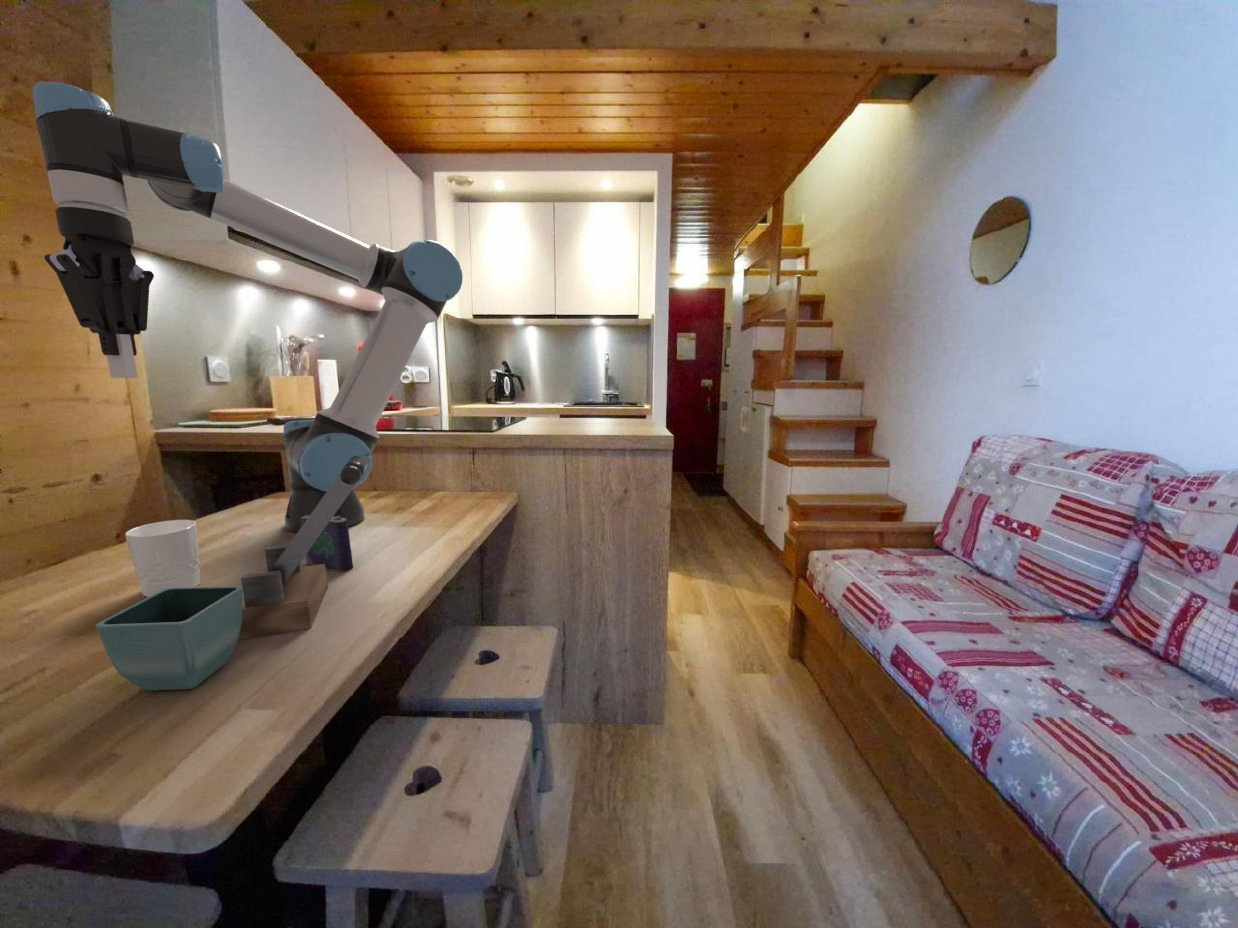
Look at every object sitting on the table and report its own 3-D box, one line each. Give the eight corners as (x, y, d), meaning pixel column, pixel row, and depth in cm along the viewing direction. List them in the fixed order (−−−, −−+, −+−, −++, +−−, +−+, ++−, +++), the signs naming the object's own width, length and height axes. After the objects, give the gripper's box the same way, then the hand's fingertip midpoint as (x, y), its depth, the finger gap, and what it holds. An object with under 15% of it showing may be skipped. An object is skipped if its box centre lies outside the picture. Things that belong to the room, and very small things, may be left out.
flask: (302, 566, 84) (295, 507, 82) (317, 560, 87) (310, 503, 85) (345, 573, 82) (339, 512, 80) (358, 566, 85) (353, 507, 83)
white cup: (165, 602, 71) (152, 538, 69) (123, 597, 73) (110, 534, 71) (218, 580, 79) (208, 521, 77) (179, 575, 80) (169, 518, 78)
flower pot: (179, 655, 58) (166, 586, 57) (255, 652, 59) (244, 584, 57) (108, 704, 50) (91, 625, 48) (198, 701, 50) (184, 623, 49)
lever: (250, 596, 62) (346, 463, 64) (270, 568, 71) (354, 452, 72) (271, 604, 63) (364, 474, 65) (288, 576, 72) (371, 461, 73)
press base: (219, 643, 61) (209, 584, 59) (251, 597, 73) (244, 547, 71) (311, 628, 65) (304, 572, 63) (327, 587, 76) (322, 539, 75)
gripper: (117, 225, 76) (144, 376, 81) (11, 197, 64) (50, 378, 68) (162, 225, 76) (187, 377, 81) (65, 197, 63) (101, 379, 68)
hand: (124, 377), depth 74 cm, fingers closed
